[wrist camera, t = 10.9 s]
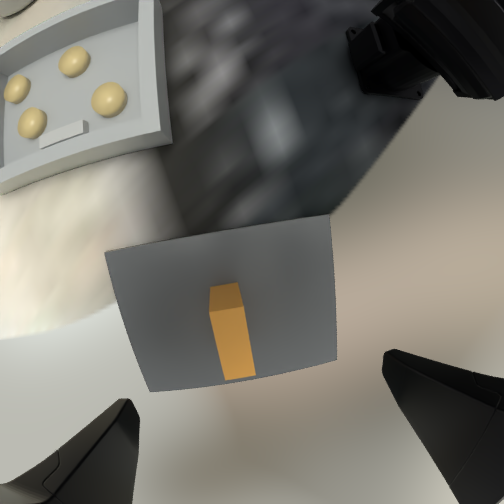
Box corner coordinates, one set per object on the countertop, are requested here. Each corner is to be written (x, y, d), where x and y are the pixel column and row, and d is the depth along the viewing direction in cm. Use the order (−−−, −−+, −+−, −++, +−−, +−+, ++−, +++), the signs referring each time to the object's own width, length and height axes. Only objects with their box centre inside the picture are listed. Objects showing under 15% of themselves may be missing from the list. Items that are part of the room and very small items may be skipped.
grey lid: (324, 213, 21) (357, 221, 16) (332, 354, 24) (357, 389, 19) (109, 249, 20) (78, 268, 15) (151, 385, 23) (140, 426, 17)
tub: (162, 12, 16) (153, -19, 11) (172, 143, 18) (160, 130, 14) (6, 74, 14) (-20, 61, 10) (4, 194, 17) (-29, 197, 13)
